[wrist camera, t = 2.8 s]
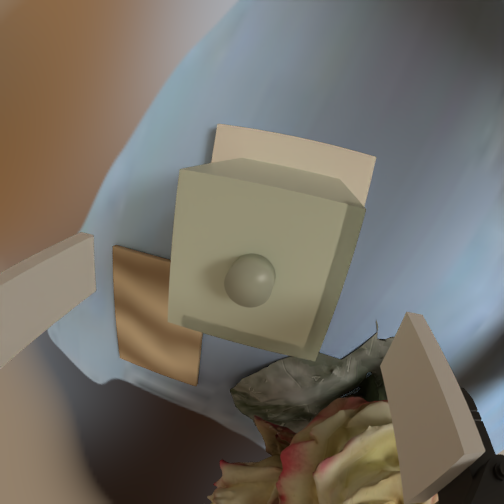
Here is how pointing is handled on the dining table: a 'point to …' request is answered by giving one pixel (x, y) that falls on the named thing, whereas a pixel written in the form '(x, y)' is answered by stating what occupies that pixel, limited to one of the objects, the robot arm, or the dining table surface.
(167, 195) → the dining table surface
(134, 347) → the tan mat
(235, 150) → the cream plate
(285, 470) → the rose bouquet
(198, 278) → the sage cover
